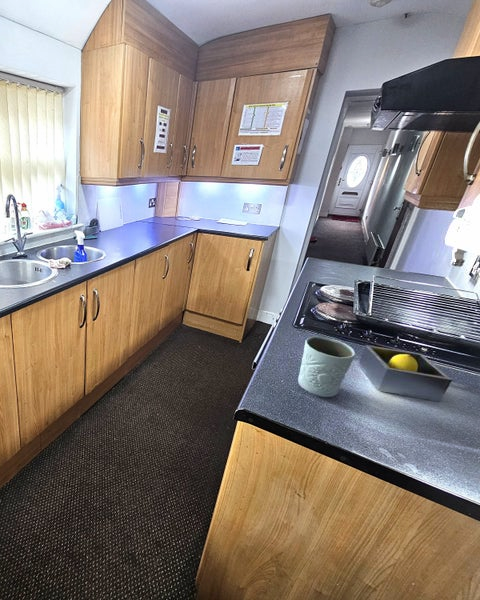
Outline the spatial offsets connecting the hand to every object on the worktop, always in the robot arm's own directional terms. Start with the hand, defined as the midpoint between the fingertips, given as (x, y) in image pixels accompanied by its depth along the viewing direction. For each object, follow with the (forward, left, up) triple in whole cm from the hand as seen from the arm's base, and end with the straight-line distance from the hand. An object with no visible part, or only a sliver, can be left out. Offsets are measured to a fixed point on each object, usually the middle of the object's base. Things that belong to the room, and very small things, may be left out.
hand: (468, 270), depth 84 cm
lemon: (+11, +12, -29) cm, 33 cm away
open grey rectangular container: (+11, +12, -29) cm, 33 cm away
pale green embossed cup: (+32, +22, -29) cm, 49 cm away
